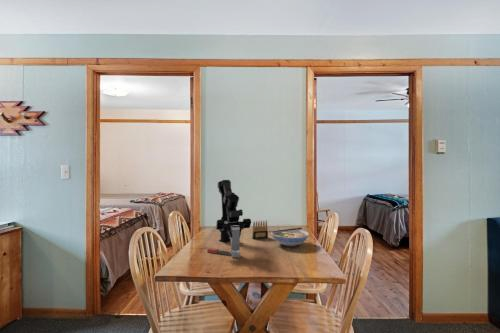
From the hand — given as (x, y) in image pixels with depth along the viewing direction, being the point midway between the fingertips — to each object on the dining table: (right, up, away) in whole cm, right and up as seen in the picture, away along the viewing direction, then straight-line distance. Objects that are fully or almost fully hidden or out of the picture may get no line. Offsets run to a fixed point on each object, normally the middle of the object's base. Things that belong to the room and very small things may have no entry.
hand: (235, 237), depth 141 cm
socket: (0, -7, +1) cm, 7 cm away
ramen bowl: (+32, -11, +22) cm, 41 cm away
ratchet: (-7, -10, +4) cm, 13 cm away
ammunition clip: (+14, -11, +39) cm, 43 cm away
